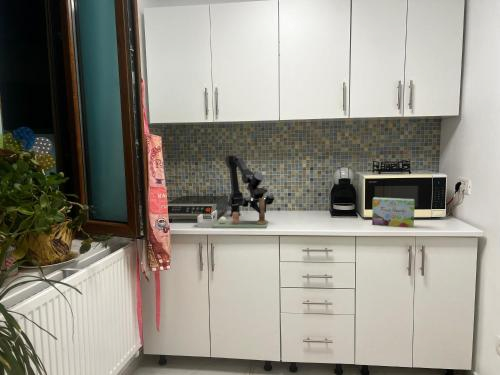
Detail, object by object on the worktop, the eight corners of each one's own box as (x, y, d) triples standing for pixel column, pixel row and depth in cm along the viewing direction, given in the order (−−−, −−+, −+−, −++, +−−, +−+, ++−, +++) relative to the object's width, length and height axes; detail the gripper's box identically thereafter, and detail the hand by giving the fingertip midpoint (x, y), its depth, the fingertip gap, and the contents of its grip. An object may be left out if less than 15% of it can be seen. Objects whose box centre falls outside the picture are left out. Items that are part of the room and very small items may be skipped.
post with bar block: (233, 222, 210) (232, 197, 209) (266, 222, 208) (266, 197, 207) (231, 224, 206) (231, 198, 204) (266, 224, 203) (265, 198, 202)
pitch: (203, 222, 217) (202, 209, 216) (268, 222, 213) (267, 209, 212) (197, 227, 203) (196, 213, 203) (266, 228, 199) (266, 213, 198)
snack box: (371, 225, 201) (372, 198, 200) (372, 223, 207) (373, 196, 205) (413, 228, 193) (414, 199, 191) (413, 225, 198) (414, 198, 196)
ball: (220, 222, 211) (220, 216, 210) (227, 222, 210) (226, 216, 210) (218, 224, 207) (218, 217, 206) (225, 224, 206) (225, 217, 206)
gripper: (243, 183, 203) (251, 205, 194) (272, 181, 211) (282, 202, 202) (238, 195, 211) (246, 217, 203) (267, 193, 219) (275, 214, 210)
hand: (262, 212), depth 204 cm, fingers closed on post with bar block, 3 cm apart
